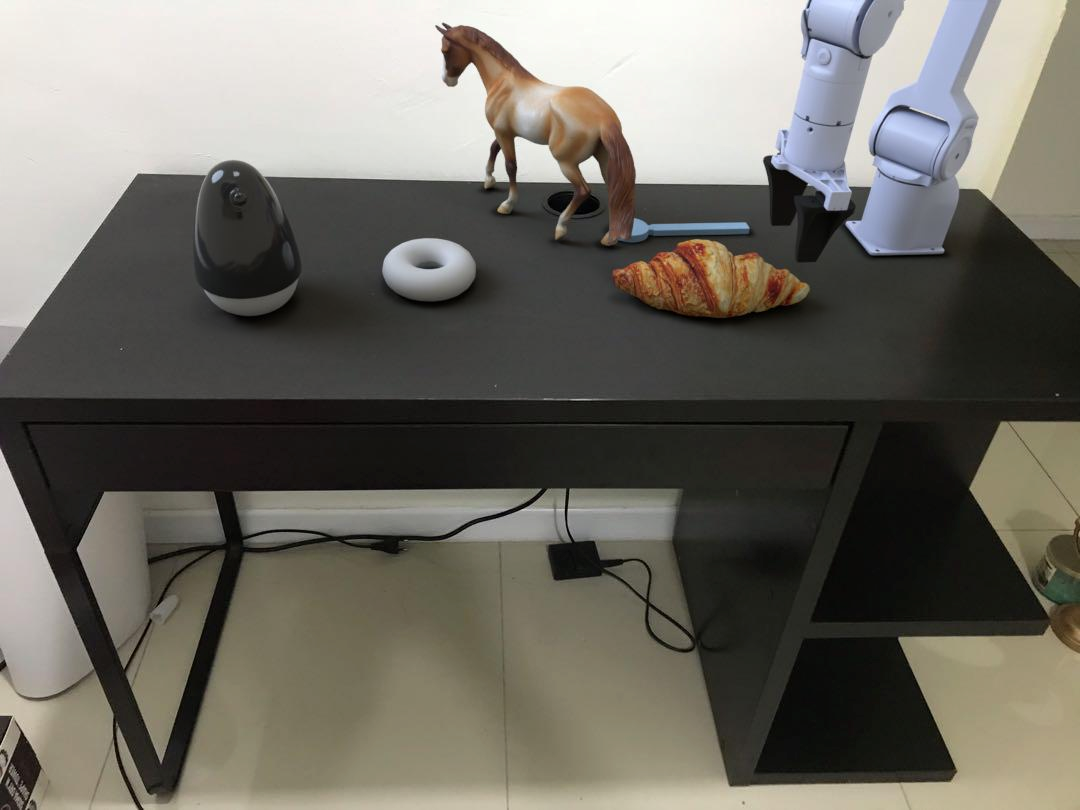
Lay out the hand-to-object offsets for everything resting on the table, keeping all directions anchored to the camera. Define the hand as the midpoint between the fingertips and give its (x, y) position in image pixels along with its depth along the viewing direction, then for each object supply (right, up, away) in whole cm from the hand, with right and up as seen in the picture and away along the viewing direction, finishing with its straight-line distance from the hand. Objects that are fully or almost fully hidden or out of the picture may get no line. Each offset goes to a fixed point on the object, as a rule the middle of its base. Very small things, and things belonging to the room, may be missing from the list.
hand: (792, 242), depth 95 cm
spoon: (-9, +4, +15) cm, 18 cm away
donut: (-38, -4, +3) cm, 39 cm away
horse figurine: (-28, +4, +14) cm, 31 cm away
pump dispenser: (-56, -7, -1) cm, 56 cm away
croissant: (-8, -6, +3) cm, 11 cm away
